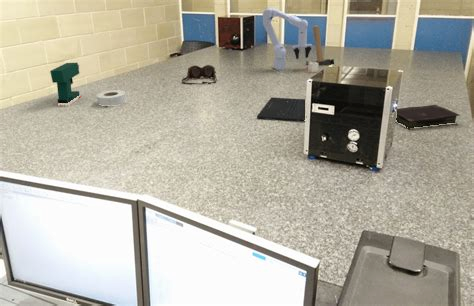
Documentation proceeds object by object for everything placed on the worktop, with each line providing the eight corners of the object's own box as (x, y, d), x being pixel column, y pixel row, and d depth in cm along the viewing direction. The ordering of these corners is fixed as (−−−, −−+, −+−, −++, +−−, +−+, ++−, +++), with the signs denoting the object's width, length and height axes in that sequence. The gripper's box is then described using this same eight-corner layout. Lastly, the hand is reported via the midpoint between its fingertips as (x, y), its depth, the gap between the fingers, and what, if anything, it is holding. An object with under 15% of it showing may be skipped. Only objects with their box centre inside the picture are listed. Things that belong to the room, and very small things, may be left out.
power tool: (78, 91, 255) (72, 59, 247) (89, 91, 255) (83, 59, 247) (56, 106, 226) (48, 71, 218) (68, 106, 226) (61, 70, 218)
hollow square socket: (308, 71, 282) (308, 62, 279) (314, 70, 283) (314, 61, 281) (312, 72, 277) (312, 64, 275) (318, 71, 279) (318, 63, 277)
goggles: (183, 86, 258) (183, 71, 254) (178, 79, 278) (178, 64, 275) (220, 84, 264) (220, 69, 260) (213, 77, 284) (212, 62, 281)
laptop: (271, 100, 226) (271, 66, 218) (339, 104, 215) (342, 68, 207) (255, 119, 197) (255, 80, 189) (333, 125, 186) (336, 84, 178)
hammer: (307, 69, 301) (301, 29, 290) (307, 68, 306) (301, 28, 295) (334, 65, 296) (329, 23, 285) (334, 63, 301) (329, 22, 290)
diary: (386, 118, 194) (388, 108, 192) (433, 113, 198) (434, 103, 196) (409, 131, 177) (410, 120, 175) (459, 125, 181) (461, 115, 179)
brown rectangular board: (295, 70, 290) (295, 64, 289) (309, 68, 295) (309, 62, 293) (308, 75, 275) (309, 69, 273) (323, 73, 279) (324, 67, 278)
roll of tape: (99, 109, 220) (98, 99, 217) (96, 101, 233) (95, 92, 231) (128, 104, 225) (127, 95, 223) (124, 97, 239) (122, 88, 236)
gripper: (296, 40, 272) (295, 60, 277) (314, 38, 277) (313, 58, 282) (291, 38, 277) (290, 58, 283) (309, 37, 283) (308, 56, 288)
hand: (301, 58), depth 283 cm, fingers open, 7 cm apart
